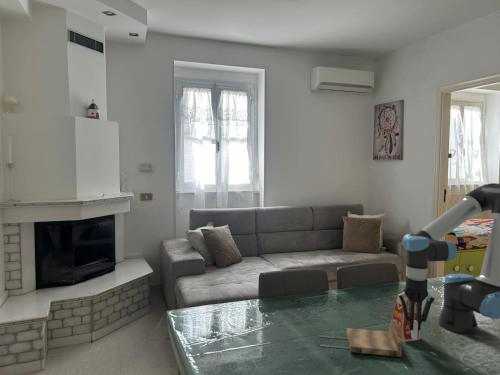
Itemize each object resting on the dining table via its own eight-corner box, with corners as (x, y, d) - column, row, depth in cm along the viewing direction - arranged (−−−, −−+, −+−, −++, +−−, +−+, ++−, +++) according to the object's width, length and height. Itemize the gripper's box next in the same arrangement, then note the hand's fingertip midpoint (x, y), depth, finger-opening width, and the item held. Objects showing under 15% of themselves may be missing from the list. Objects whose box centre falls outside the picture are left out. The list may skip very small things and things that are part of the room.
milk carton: (403, 342, 147) (405, 292, 146) (388, 332, 156) (390, 285, 155) (422, 339, 150) (424, 291, 148) (407, 329, 158) (408, 284, 157)
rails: (396, 342, 146) (396, 342, 146) (401, 354, 137) (401, 353, 137) (319, 336, 151) (319, 335, 151) (320, 346, 143) (320, 345, 143)
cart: (391, 336, 151) (392, 323, 150) (401, 357, 133) (402, 344, 133) (346, 332, 154) (346, 320, 153) (350, 353, 136) (350, 339, 136)
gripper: (431, 275, 142) (429, 335, 143) (396, 273, 144) (394, 332, 145) (438, 281, 135) (435, 344, 136) (400, 279, 137) (398, 341, 138)
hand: (414, 338), depth 141 cm, fingers closed
